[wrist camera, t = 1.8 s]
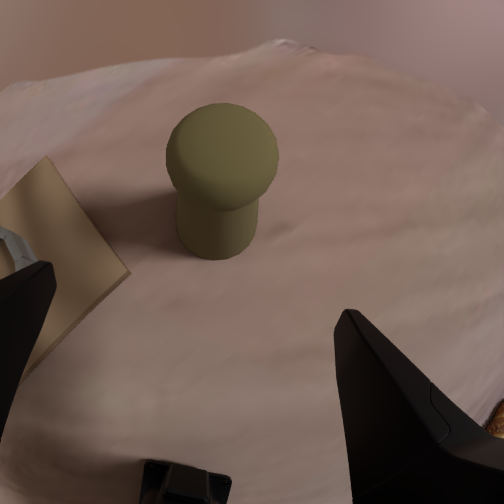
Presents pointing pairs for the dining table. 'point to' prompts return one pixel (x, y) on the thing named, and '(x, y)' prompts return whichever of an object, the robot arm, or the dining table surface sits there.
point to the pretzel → (497, 423)
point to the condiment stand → (56, 252)
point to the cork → (220, 177)
